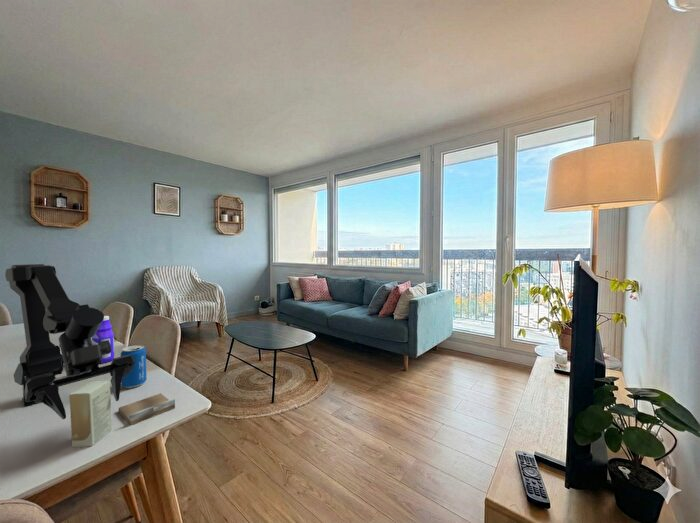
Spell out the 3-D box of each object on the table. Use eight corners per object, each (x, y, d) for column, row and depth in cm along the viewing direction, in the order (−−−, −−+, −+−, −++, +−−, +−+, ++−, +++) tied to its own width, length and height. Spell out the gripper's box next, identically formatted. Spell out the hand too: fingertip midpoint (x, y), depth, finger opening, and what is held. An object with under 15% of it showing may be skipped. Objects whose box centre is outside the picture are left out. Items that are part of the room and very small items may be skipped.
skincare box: (93, 430, 69) (92, 380, 69) (112, 429, 69) (111, 379, 69) (69, 448, 63) (68, 393, 62) (91, 447, 63) (89, 392, 63)
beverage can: (133, 390, 89) (132, 352, 88) (116, 388, 90) (115, 350, 89) (151, 381, 95) (150, 345, 95) (135, 379, 96) (134, 343, 96)
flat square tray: (131, 425, 71) (130, 416, 71) (118, 411, 77) (118, 402, 77) (175, 408, 79) (175, 399, 79) (160, 396, 85) (160, 388, 85)
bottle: (89, 362, 111) (87, 317, 110) (106, 357, 116) (105, 314, 115) (100, 365, 108) (99, 319, 107) (117, 359, 113) (116, 316, 112)
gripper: (24, 342, 60) (35, 410, 54) (131, 323, 75) (149, 375, 69) (20, 370, 65) (30, 435, 59) (121, 347, 80) (137, 398, 74)
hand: (92, 408), depth 65 cm, fingers open, 9 cm apart
